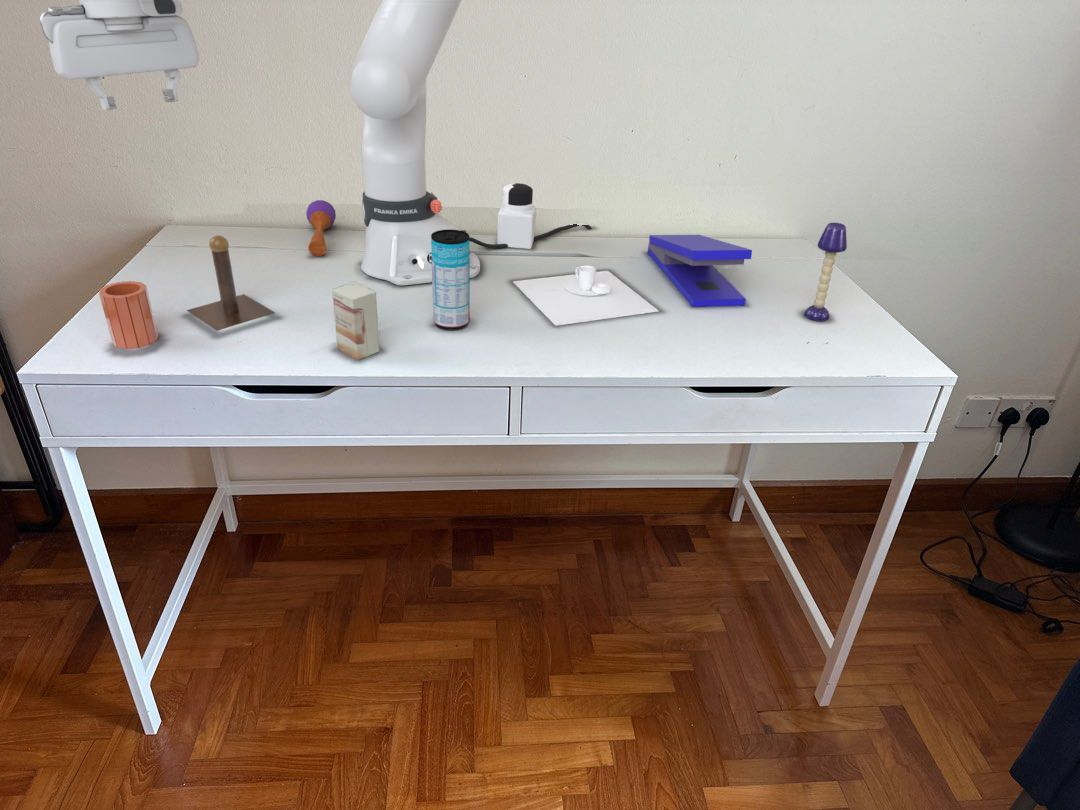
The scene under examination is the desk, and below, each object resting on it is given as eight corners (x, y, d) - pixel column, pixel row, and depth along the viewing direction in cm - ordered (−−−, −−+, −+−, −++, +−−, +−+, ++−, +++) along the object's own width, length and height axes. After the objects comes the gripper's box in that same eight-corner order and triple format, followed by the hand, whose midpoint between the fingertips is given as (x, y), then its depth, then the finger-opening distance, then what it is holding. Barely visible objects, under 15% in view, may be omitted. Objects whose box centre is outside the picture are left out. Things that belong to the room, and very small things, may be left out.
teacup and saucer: (617, 296, 137) (619, 275, 135) (577, 301, 135) (579, 280, 132) (595, 279, 144) (597, 258, 142) (557, 283, 141) (559, 262, 139)
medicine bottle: (534, 238, 162) (537, 182, 156) (531, 249, 156) (533, 191, 150) (501, 235, 163) (503, 179, 157) (497, 246, 157) (498, 189, 151)
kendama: (297, 237, 144) (303, 198, 160) (306, 265, 148) (312, 224, 164) (328, 231, 145) (331, 193, 161) (337, 259, 149) (339, 219, 164)
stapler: (689, 306, 135) (698, 254, 130) (643, 252, 158) (649, 205, 153) (749, 305, 137) (760, 253, 132) (695, 251, 160) (703, 205, 155)
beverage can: (473, 318, 127) (474, 231, 119) (463, 333, 122) (463, 243, 114) (439, 314, 127) (437, 227, 120) (428, 328, 122) (425, 239, 115)
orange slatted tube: (148, 332, 117) (135, 277, 112) (166, 345, 113) (153, 289, 109) (107, 344, 113) (92, 288, 108) (125, 358, 109) (109, 301, 105)
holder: (244, 299, 129) (231, 221, 122) (276, 318, 123) (264, 237, 116) (187, 315, 122) (170, 234, 115) (217, 336, 117) (201, 252, 110)
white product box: (336, 350, 115) (329, 288, 109) (359, 341, 118) (354, 280, 112) (358, 361, 112) (352, 298, 107) (381, 352, 115) (377, 290, 110)
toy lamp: (813, 323, 132) (838, 230, 123) (794, 313, 135) (817, 221, 126) (833, 319, 134) (859, 227, 125) (814, 309, 137) (837, 219, 128)
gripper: (43, 7, 101) (77, 116, 108) (191, 1, 114) (213, 98, 121) (27, 7, 105) (61, 112, 112) (172, 1, 118) (195, 96, 125)
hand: (141, 105), depth 117 cm, fingers open, 8 cm apart
